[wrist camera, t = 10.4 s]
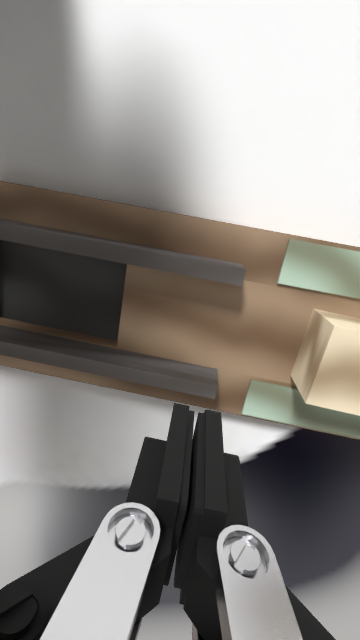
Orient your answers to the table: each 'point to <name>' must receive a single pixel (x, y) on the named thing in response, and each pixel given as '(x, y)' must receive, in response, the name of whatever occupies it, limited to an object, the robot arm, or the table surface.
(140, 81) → the table surface
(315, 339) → the maple block
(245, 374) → the runway board
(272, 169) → the table surface
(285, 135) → the table surface
